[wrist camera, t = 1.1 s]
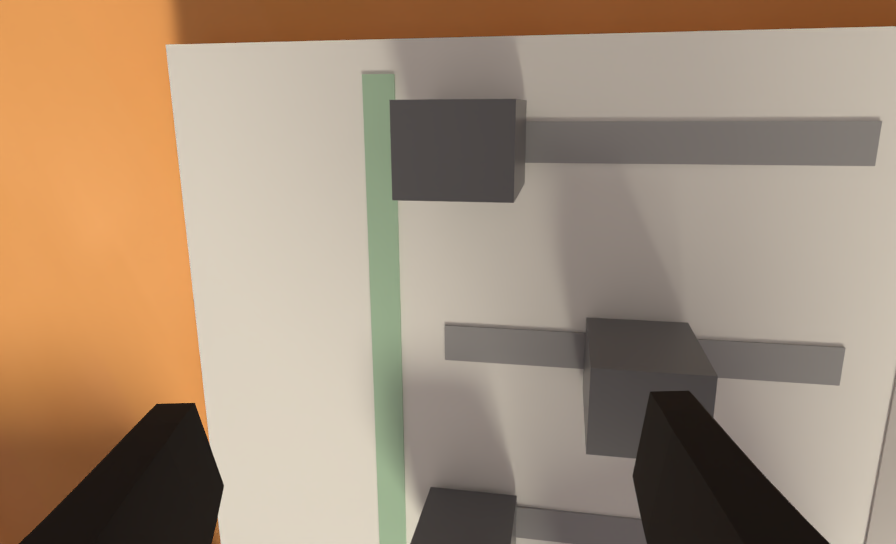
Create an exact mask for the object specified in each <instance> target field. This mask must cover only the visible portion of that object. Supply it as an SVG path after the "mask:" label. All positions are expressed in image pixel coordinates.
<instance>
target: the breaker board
mask: <svg viewBox="0 0 896 544" xmlns="http://www.w3.org/2000/svg"><path fill="white" fill-rule="evenodd" d="M166 52H167V61H168V70H169V79H170V88H171V97H172V106H173V115H174V124H175V134H176V143H177V152H178V161H179V170H180V179H181V188H182V197H183V206H184V215H185V224H186V233H187V242H188V251H189V260H190V269H191V278H192V287H193V296H194V306H195V315H196V324H197V333H198V342H199V351H200V360H201V369H202V378H203V387H204V396H205V405H206V414H207V423H208V432H209V441H210V447H211V450H212V453H213V456H214V459H215V461H216V464H217V467H218V470H219V473H220V475H221V478H222V481H223V484H224V489H223V494H222V498H221V503H220V508H219V513H218V523H219V532H220V541H221V544H410V543H411V540H412V537H413V535H414V532H415V529H416V526H417V524H418V521H419V518H420V515H421V512H422V510H423V507H424V504H425V501H426V499H427V496H428V493H429V490H430V487H437V488H447V489H456V490H466V491H476V492H486V493H496V494H506V495H516V496H517V513H516V544H647V542H646V539H645V534H644V529H643V525H642V520H641V516H640V511H639V506H638V501H637V496H636V491H635V486H634V481H633V476H632V475H633V471H634V466H635V461H636V459H634V458H623V457H612V456H600V455H589V454H586V445H585V425H584V406H583V371H584V352H585V333H586V317H587V318H607V319H626V320H646V321H665V322H685V323H689V325H690V327H691V329H692V331H693V332H694V334H695V336H696V338H697V340H698V341H699V343H700V345H701V347H702V349H703V350H704V352H705V354H706V356H707V358H708V359H709V361H710V363H711V365H712V367H713V368H714V370H715V372H716V374H717V376H718V380H717V389H716V398H715V408H714V417H713V418H714V419H715V420H716V421H717V423H718V424H719V425H720V426H721V427H722V428H723V429H724V431H725V432H726V433H727V434H728V435H729V436H730V437H731V439H732V440H733V441H734V442H735V443H736V444H737V445H738V447H739V448H740V449H741V450H742V451H743V452H744V453H745V454H746V455H747V457H748V458H749V459H750V460H751V461H752V462H753V463H754V464H755V466H756V467H757V468H758V469H759V470H760V471H761V472H762V473H763V474H764V475H765V476H766V478H767V479H768V480H769V481H770V482H771V483H772V484H773V485H774V486H775V487H776V488H777V489H778V490H779V491H780V492H781V493H782V495H783V496H784V497H785V498H786V499H787V500H788V501H789V502H790V503H791V504H792V505H793V506H794V507H795V508H796V509H797V510H798V511H799V512H800V514H801V515H802V516H803V517H804V518H805V519H806V520H807V521H808V522H809V523H810V524H811V525H812V526H813V527H814V528H815V529H816V530H817V531H818V532H819V533H820V534H821V535H822V536H823V537H824V538H825V539H826V540H827V541H828V542H829V543H830V544H896V26H887V27H847V28H807V29H767V30H727V31H688V32H648V33H608V34H568V35H529V36H489V37H449V38H409V39H369V40H330V41H290V42H250V43H210V44H170V45H166ZM423 99H521V100H527V109H526V150H525V184H524V186H523V187H522V189H521V191H520V193H519V195H518V196H517V198H516V200H515V202H514V203H495V202H447V201H399V200H392V174H391V138H390V101H389V100H423Z"/></svg>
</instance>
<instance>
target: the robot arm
mask: <svg viewBox="0 0 896 544" xmlns="http://www.w3.org/2000/svg"><path fill="white" fill-rule="evenodd" d="M632 476H633V481H634V486H635V491H636V496H637V501H638V506H639V511H640V516H641V520H642V525H643V529H644V534H645V539H646V542H647V544H830V543H829V542H828V541H827V540H826V539H825V538H824V537H823V536H822V535H821V534H820V533H819V532H818V531H817V530H816V529H815V528H814V527H813V526H812V525H811V524H810V523H809V522H808V521H807V520H806V519H805V518H804V517H803V516H802V515H801V514H800V512H799V511H798V510H797V509H796V508H795V507H794V506H793V505H792V504H791V503H790V502H789V501H788V500H787V499H786V498H785V497H784V496H783V495H782V493H781V492H780V491H779V490H778V489H777V488H776V487H775V486H774V485H773V484H772V483H771V482H770V481H769V480H768V479H767V478H766V476H765V475H764V474H763V473H762V472H761V471H760V470H759V469H758V468H757V467H756V466H755V464H754V463H753V462H752V461H751V460H750V459H749V458H748V457H747V455H746V454H745V453H744V452H743V451H742V450H741V449H740V448H739V447H738V445H737V444H736V443H735V442H734V441H733V440H732V439H731V437H730V436H729V435H728V434H727V433H726V432H725V431H724V429H723V428H722V427H721V426H720V425H719V424H718V423H717V421H716V420H715V419H714V418H713V417H712V416H711V414H710V413H709V412H708V411H707V410H706V409H705V408H704V406H703V405H702V404H701V403H700V402H699V401H698V399H697V398H696V397H695V396H694V395H693V394H692V393H691V392H690V391H650V394H649V398H648V403H647V408H646V413H645V418H644V422H643V427H642V432H641V437H640V442H639V447H638V451H637V456H636V461H635V466H634V471H633V475H632ZM223 489H224V484H223V481H222V478H221V475H220V473H219V470H218V467H217V464H216V461H215V459H214V456H213V453H212V450H211V447H210V445H209V442H208V439H207V436H206V433H205V431H204V428H203V425H202V422H201V419H200V417H199V414H198V411H197V408H196V405H195V403H176V404H156V405H155V406H154V407H153V408H152V409H151V410H150V411H149V412H148V413H147V414H146V415H145V416H144V417H143V418H142V419H141V420H140V421H139V422H138V424H137V425H136V426H135V427H134V428H133V429H132V430H131V431H130V432H129V433H128V434H127V435H126V436H125V437H124V438H123V439H122V440H121V441H120V442H119V443H118V444H117V445H116V446H115V447H114V448H113V449H112V451H111V452H110V453H109V454H108V455H107V456H106V457H105V458H104V459H103V460H102V461H101V462H100V463H99V464H98V465H97V466H96V467H95V468H94V469H93V470H92V471H91V472H90V473H89V474H88V475H87V477H86V478H85V479H84V480H83V481H82V482H81V483H80V484H79V485H78V486H77V487H76V488H75V489H74V490H73V491H72V492H71V493H70V494H69V495H68V496H67V497H66V498H65V499H64V500H63V501H62V502H61V503H60V504H59V505H58V506H57V507H56V508H55V509H54V510H53V511H52V512H51V513H50V514H49V515H48V516H47V517H46V518H45V519H44V520H43V521H42V522H41V523H40V524H39V525H38V526H37V527H36V528H35V529H34V530H33V531H32V532H31V533H30V534H29V535H28V536H26V537H25V538H24V539H23V540H22V541H21V542H20V543H19V544H211V543H212V539H213V535H214V531H215V526H216V522H217V518H218V513H219V508H220V503H221V498H222V494H223Z"/></svg>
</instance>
